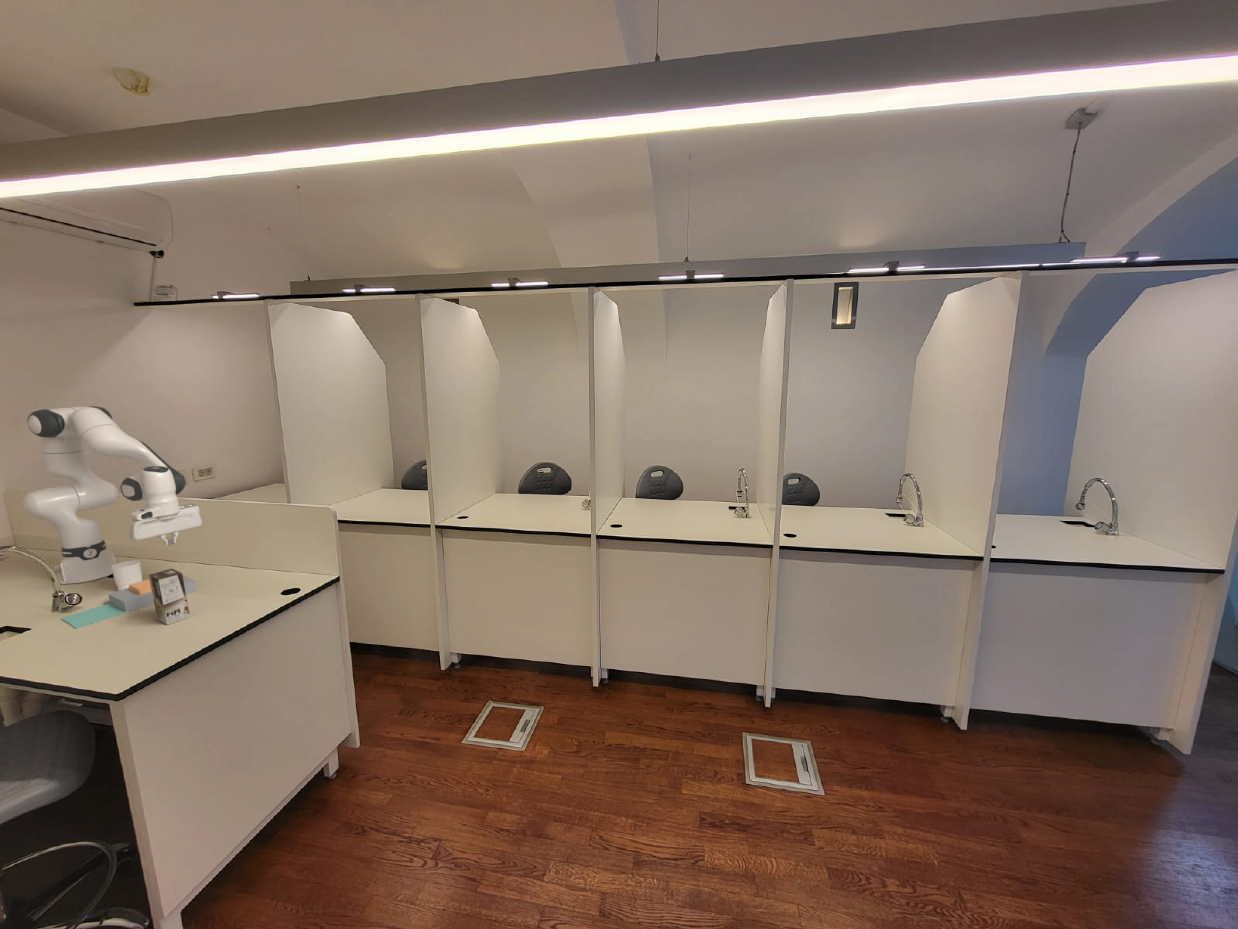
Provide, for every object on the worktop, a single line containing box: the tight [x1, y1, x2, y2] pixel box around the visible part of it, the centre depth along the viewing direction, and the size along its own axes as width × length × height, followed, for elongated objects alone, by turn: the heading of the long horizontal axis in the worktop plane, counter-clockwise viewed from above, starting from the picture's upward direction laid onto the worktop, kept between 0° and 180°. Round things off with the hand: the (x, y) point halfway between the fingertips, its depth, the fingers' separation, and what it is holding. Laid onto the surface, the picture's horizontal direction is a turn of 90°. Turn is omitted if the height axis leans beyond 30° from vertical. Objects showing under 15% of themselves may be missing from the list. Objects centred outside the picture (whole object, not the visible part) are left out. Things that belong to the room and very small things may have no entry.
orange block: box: [129, 578, 152, 595], centre depth 175 cm, size 9×6×2 cm, turn 63°
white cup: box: [111, 559, 143, 591], centre depth 184 cm, size 8×8×10 cm
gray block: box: [107, 575, 198, 614], centre depth 177 cm, size 14×20×4 cm
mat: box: [60, 603, 126, 629], centre depth 163 cm, size 14×12×1 cm
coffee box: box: [148, 568, 191, 625], centre depth 160 cm, size 9×6×16 cm
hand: (170, 544), depth 180 cm, fingers closed
